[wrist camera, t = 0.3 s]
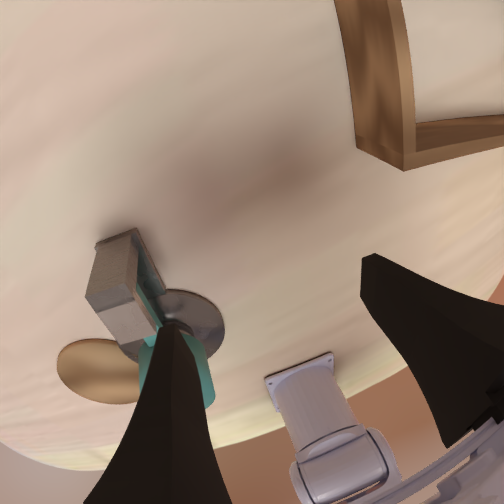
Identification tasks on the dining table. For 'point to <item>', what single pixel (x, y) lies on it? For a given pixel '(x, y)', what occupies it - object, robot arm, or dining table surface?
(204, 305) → the dark grey handled bowl
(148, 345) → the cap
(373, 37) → the tray
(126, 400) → the coaster
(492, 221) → the dining table surface
